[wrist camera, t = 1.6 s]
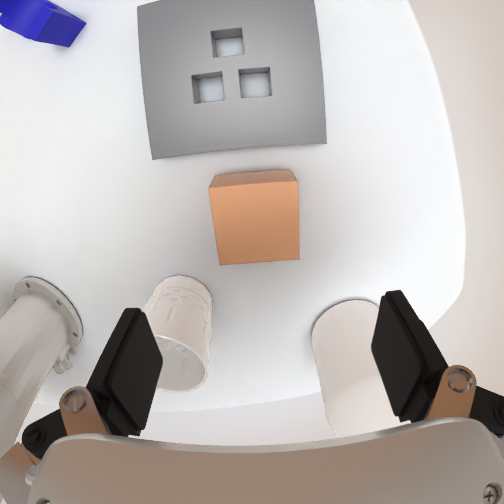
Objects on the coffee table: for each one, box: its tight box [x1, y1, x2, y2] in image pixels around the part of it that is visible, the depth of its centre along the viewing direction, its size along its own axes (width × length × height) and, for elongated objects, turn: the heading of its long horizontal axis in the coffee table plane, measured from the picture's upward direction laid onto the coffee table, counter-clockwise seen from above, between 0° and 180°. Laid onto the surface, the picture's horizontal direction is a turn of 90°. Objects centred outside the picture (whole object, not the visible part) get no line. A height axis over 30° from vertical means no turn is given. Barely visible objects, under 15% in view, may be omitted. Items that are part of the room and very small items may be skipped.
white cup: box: [142, 275, 213, 392], centre depth 28 cm, size 8×8×10 cm
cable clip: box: [0, 0, 86, 47], centre depth 14 cm, size 12×4×6 cm, turn 47°
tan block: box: [209, 169, 300, 265], centre depth 24 cm, size 6×6×7 cm
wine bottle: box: [311, 300, 411, 438], centre depth 21 cm, size 10×10×30 cm
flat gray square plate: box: [137, 0, 327, 160], centre depth 20 cm, size 14×14×3 cm
